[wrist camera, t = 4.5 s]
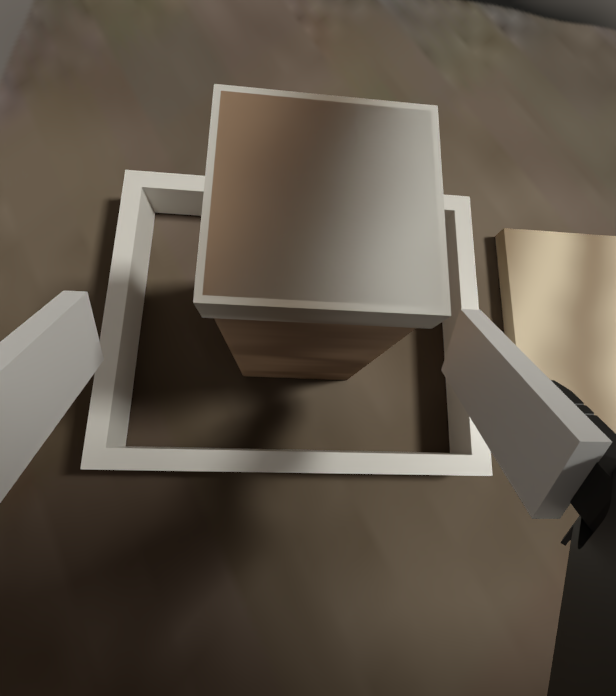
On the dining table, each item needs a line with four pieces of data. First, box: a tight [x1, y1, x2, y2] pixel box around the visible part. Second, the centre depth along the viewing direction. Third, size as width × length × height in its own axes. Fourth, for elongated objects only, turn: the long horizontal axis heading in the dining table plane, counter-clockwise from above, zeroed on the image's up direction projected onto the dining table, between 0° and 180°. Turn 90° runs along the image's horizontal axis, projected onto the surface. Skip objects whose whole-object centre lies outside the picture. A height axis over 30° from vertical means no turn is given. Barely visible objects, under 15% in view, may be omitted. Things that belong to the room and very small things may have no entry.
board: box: [495, 228, 616, 433], centre depth 24 cm, size 10×14×1 cm
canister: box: [193, 84, 451, 380], centre depth 16 cm, size 6×6×13 cm
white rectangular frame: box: [80, 170, 492, 476], centre depth 21 cm, size 20×16×2 cm
